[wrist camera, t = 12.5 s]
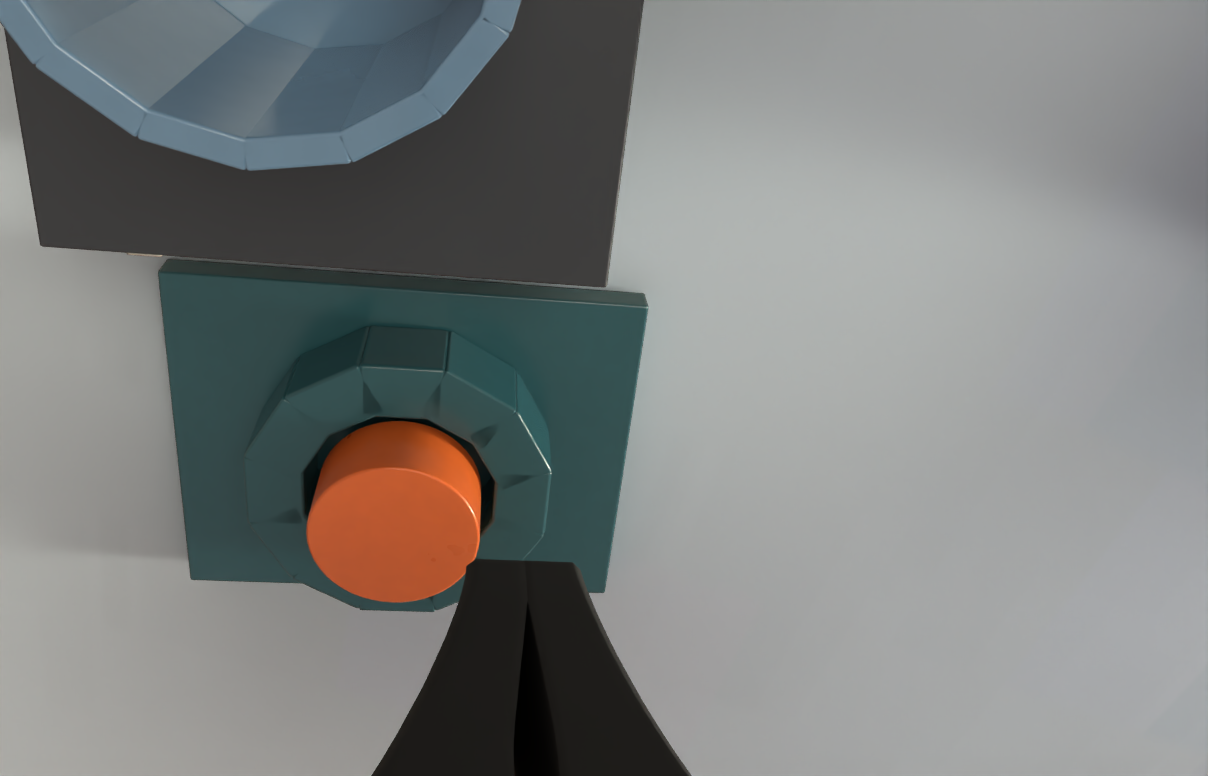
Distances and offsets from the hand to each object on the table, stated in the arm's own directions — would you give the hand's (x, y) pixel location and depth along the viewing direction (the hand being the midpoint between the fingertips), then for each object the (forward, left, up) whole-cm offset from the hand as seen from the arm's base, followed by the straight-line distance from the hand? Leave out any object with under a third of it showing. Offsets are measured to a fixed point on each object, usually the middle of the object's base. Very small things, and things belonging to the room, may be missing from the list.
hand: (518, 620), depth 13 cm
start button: (-2, +4, -8) cm, 9 cm away
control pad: (-2, +4, -10) cm, 11 cm away
